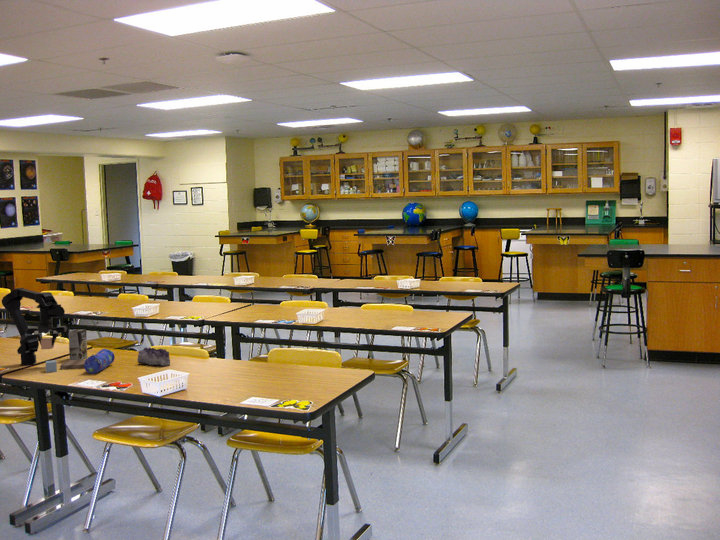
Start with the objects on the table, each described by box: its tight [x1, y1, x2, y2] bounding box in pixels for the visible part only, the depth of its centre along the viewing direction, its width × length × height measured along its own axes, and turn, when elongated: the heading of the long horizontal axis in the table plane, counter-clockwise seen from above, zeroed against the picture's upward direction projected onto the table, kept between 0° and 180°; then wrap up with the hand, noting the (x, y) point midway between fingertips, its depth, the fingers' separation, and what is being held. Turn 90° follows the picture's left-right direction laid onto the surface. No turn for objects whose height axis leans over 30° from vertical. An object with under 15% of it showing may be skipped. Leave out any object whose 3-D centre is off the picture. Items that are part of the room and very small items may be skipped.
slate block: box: [45, 359, 58, 374], centre depth 348 cm, size 5×5×5 cm
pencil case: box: [83, 348, 115, 375], centre depth 351 cm, size 22×9×10 cm, turn 0°
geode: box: [137, 347, 171, 368], centre depth 363 cm, size 20×12×10 cm, turn 62°
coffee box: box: [68, 328, 88, 361], centre depth 375 cm, size 9×6×16 cm
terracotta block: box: [40, 337, 55, 350], centre depth 358 cm, size 5×5×5 cm
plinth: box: [59, 359, 86, 370], centre depth 358 cm, size 12×12×2 cm
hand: (47, 346), depth 358 cm, fingers closed on terracotta block, 5 cm apart
